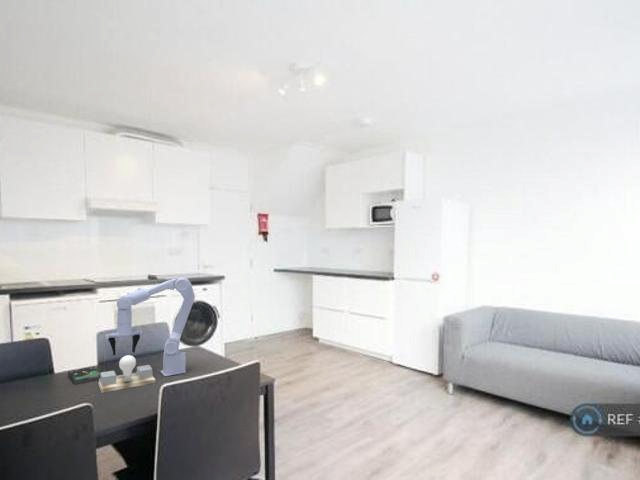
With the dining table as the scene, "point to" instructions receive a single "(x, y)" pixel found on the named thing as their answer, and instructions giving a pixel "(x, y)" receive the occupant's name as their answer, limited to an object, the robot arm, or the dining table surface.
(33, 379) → the dining table surface
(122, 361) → the lightbulb
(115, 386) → the rail board
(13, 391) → the dining table surface
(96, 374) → the disk drive
